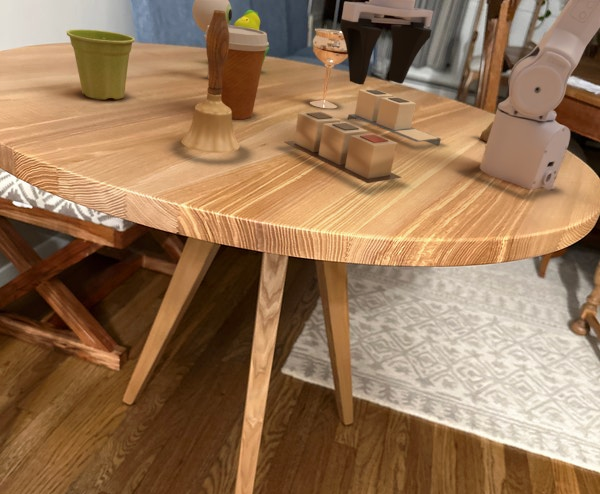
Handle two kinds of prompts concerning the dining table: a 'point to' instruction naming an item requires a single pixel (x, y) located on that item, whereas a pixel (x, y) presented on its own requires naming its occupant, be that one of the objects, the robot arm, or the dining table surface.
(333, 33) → the wineglass
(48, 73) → the dining table surface
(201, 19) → the lollipop
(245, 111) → the disposable coffee cup
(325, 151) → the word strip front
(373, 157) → the red-topped wooden cube
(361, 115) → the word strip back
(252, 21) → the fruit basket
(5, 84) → the dining table surface
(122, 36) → the plant pot
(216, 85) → the hand bell
